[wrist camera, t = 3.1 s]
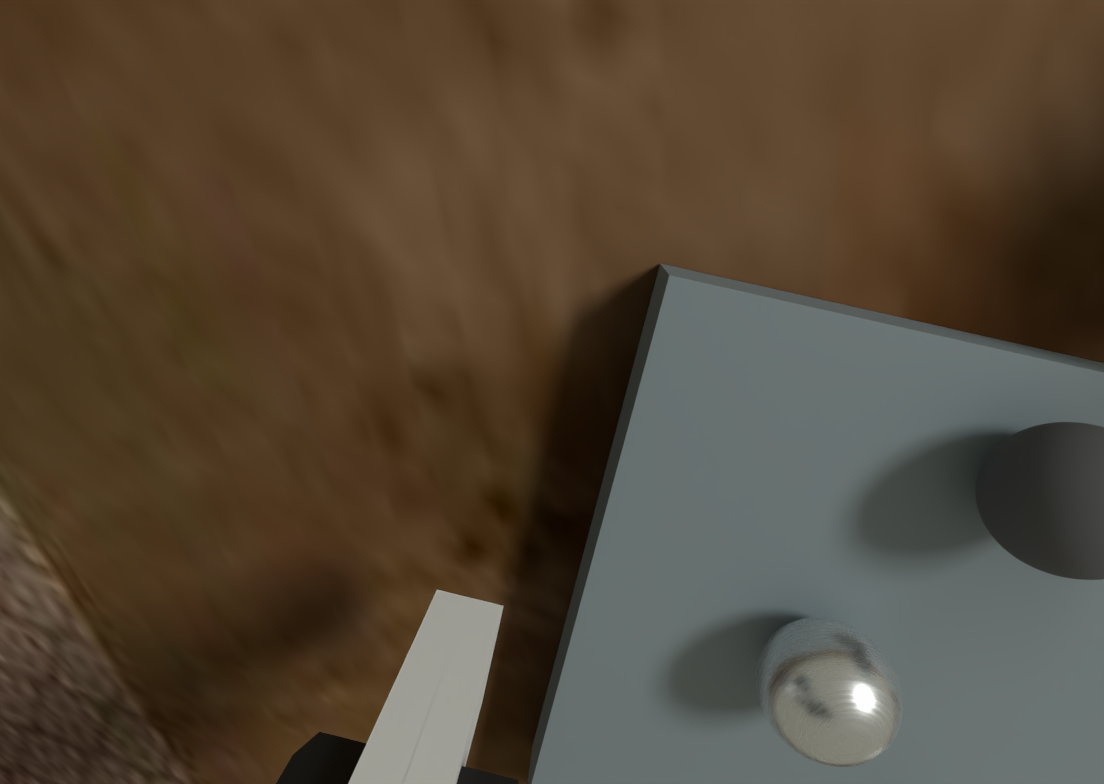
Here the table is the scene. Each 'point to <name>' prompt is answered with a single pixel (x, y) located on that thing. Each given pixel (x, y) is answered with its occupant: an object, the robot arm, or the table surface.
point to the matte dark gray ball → (1048, 498)
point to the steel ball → (829, 692)
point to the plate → (820, 550)
